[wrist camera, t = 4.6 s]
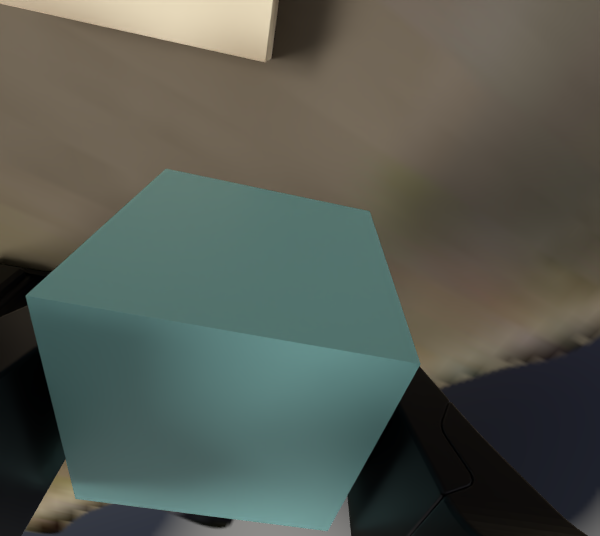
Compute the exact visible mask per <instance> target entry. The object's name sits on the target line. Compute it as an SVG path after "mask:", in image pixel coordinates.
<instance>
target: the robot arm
mask: <svg viewBox="0 0 600 536" xmlns="http://www.w3.org/2000/svg"><path fill="white" fill-rule="evenodd" d="M49 274H50V272H44V271H38V270H32V269H26V268H20V267H14V266H8V265H2V264H0V536H22V534H23V532H24V530H25V529H26V527H27V525H28V523H29V522H30V520H31V518H32V516H33V515H34V513H35V511H36V510H37V508H38V506H39V504H40V503H41V501H42V499H43V497H44V496H45V494H46V492H47V490H48V489H49V487H50V485H51V483H52V482H53V480H54V478H55V476H56V475H57V473H58V471H59V469H60V468H61V466H62V464H63V462H64V461H65V459H66V458H65V454H64V450H63V446H62V442H61V438H60V434H59V430H58V425H57V421H56V417H55V413H54V409H53V405H52V401H51V397H50V393H49V389H48V385H47V381H46V377H45V373H44V369H43V365H42V361H41V357H40V353H39V349H38V344H37V340H36V336H35V332H34V328H33V324H32V320H31V316H30V312H29V308H28V304H27V300H26V295H27V294H28V293H29V292H30V291H31V290H32V289H33V288H34V287H36V286H37V285H38V284H39V283H40V282H41V281H42V280H43V279H44V278H46V277H47V276H48V275H49ZM348 506H349V517H350V528H351V536H587V535H586V534H584V533H583V532H582V531H580V530H579V529H577V528H576V527H575V526H574V525H572V524H571V523H570V522H569V521H567V520H566V519H565V518H564V517H563V516H562V515H561V514H560V513H559V512H557V511H556V510H555V509H554V508H553V507H552V506H551V505H550V504H549V503H548V502H547V501H546V500H545V499H544V498H543V497H542V496H541V495H540V494H539V493H538V492H537V491H536V490H535V489H534V488H533V487H532V486H531V485H530V484H529V483H528V482H527V481H526V480H525V479H524V478H523V477H522V476H521V475H520V474H519V473H518V472H517V471H516V470H515V469H514V468H513V467H512V466H511V465H510V464H509V463H508V462H507V461H506V460H505V459H504V458H503V457H502V456H501V455H500V454H499V453H498V452H497V451H496V450H495V449H494V448H493V447H492V446H491V445H490V444H489V443H488V442H487V441H486V440H485V439H484V438H483V437H482V436H481V435H480V434H479V433H478V432H477V431H476V429H475V428H474V427H473V426H472V425H471V424H470V423H469V422H468V421H467V420H466V419H465V417H464V416H463V415H462V414H461V413H460V412H459V411H458V409H457V408H456V407H455V406H454V405H453V404H452V403H451V402H449V400H448V398H447V397H446V396H445V395H444V394H443V393H442V391H441V390H440V389H439V388H438V387H437V386H436V385H435V383H434V382H433V381H432V380H431V379H430V378H429V377H428V375H427V374H426V373H425V372H424V371H423V370H422V369H421V367H420V366H419V368H418V369H417V371H416V373H415V375H414V377H413V378H412V380H411V382H410V384H409V386H408V387H407V389H406V391H405V393H404V395H403V396H402V398H401V400H400V402H399V404H398V405H397V407H396V409H395V411H394V413H393V414H392V416H391V418H390V420H389V422H388V423H387V425H386V427H385V429H384V431H383V432H382V434H381V436H380V438H379V439H378V441H377V443H376V445H375V447H374V448H373V450H372V452H371V454H370V456H369V457H368V459H367V461H366V463H365V465H364V466H363V468H362V470H361V472H360V474H359V475H358V477H357V479H356V481H355V483H354V484H353V486H352V488H351V490H350V492H349V493H348Z"/></svg>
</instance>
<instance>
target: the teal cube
mask: <svg viewBox="0 0 600 536" xmlns="http://www.w3.org/2000/svg"><path fill="white" fill-rule="evenodd" d="M26 300H27V304H28V308H29V312H30V316H31V320H32V324H33V328H34V332H35V336H36V340H37V344H38V349H39V353H40V357H41V361H42V365H43V369H44V373H45V377H46V381H47V385H48V389H49V393H50V397H51V401H52V405H53V409H54V413H55V417H56V421H57V425H58V430H59V434H60V438H61V442H62V446H63V450H64V454H65V458H66V462H67V466H68V470H69V474H70V478H71V482H72V486H73V490H74V494H75V498H76V499H81V500H89V501H97V502H105V503H112V504H120V505H129V506H136V507H144V508H152V509H159V510H167V511H175V512H183V513H191V514H198V515H206V516H214V517H222V518H230V519H238V520H246V521H253V522H261V523H269V524H277V525H284V526H292V527H300V528H308V529H316V530H325V531H328V529H329V527H330V526H331V524H332V522H333V520H334V519H335V517H336V515H337V513H338V511H339V510H340V508H341V506H342V504H343V502H344V501H345V499H346V497H347V495H348V493H349V492H350V490H351V488H352V486H353V484H354V483H355V481H356V479H357V477H358V475H359V474H360V472H361V470H362V468H363V466H364V465H365V463H366V461H367V459H368V457H369V456H370V454H371V452H372V450H373V448H374V447H375V445H376V443H377V441H378V439H379V438H380V436H381V434H382V432H383V431H384V429H385V427H386V425H387V423H388V422H389V420H390V418H391V416H392V414H393V413H394V411H395V409H396V407H397V405H398V404H399V402H400V400H401V398H402V396H403V395H404V393H405V391H406V389H407V387H408V386H409V384H410V382H411V380H412V378H413V377H414V375H415V373H416V371H417V369H418V368H419V366H420V361H419V358H418V355H417V352H416V349H415V346H414V343H413V340H412V337H411V334H410V331H409V328H408V325H407V322H406V319H405V316H404V313H403V310H402V307H401V304H400V301H399V298H398V295H397V292H396V289H395V286H394V283H393V280H392V277H391V274H390V271H389V268H388V265H387V262H386V259H385V256H384V253H383V250H382V247H381V244H380V241H379V238H378V235H377V232H376V229H375V226H374V223H373V220H372V217H371V214H370V211H366V210H361V209H356V208H351V207H347V206H342V205H337V204H332V203H327V202H323V201H318V200H313V199H308V198H304V197H299V196H294V195H289V194H285V193H280V192H275V191H270V190H265V189H261V188H256V187H251V186H246V185H242V184H237V183H232V182H227V181H222V180H218V179H213V178H208V177H203V176H199V175H194V174H189V173H184V172H180V171H175V170H170V169H165V170H164V171H163V172H162V173H161V174H160V175H158V176H157V177H156V178H155V179H154V180H153V181H152V182H151V183H150V184H148V185H147V186H146V187H145V188H144V189H143V190H142V191H141V192H140V193H138V194H137V195H136V196H135V197H134V198H133V199H132V200H131V201H130V202H129V203H127V204H126V205H125V206H124V207H123V208H122V209H121V210H120V211H119V212H117V213H116V214H115V215H114V216H113V217H112V218H111V219H110V220H109V221H108V222H106V223H105V224H104V225H103V226H102V227H101V228H100V229H99V230H98V231H96V232H95V233H94V234H93V235H92V236H91V237H90V238H89V239H88V240H86V241H85V242H84V243H83V244H82V245H81V246H80V247H79V248H78V249H77V250H75V251H74V252H73V253H72V254H71V255H70V256H69V257H68V258H67V259H65V260H64V261H63V262H62V263H61V264H60V265H59V266H58V267H57V268H55V269H54V270H53V271H52V272H51V273H50V274H49V275H48V276H47V277H46V278H44V279H43V280H42V281H41V282H40V283H39V284H38V285H37V286H36V287H34V288H33V289H32V290H31V291H30V292H29V293H28V294H27V295H26Z"/></svg>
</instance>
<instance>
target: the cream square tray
mask: <svg viewBox="0 0 600 536" xmlns="http://www.w3.org/2000/svg"><path fill="white" fill-rule="evenodd" d="M0 4H5V5H9V6H14V7H18V8H23V9H27V10H32V11H36V12H41V13H45V14H50V15H54V16H59V17H63V18H68V19H72V20H77V21H81V22H86V23H90V24H95V25H99V26H104V27H108V28H113V29H117V30H122V31H126V32H131V33H135V34H140V35H144V36H149V37H153V38H158V39H162V40H167V41H172V42H176V43H181V44H185V45H190V46H194V47H199V48H203V49H208V50H212V51H217V52H221V53H226V54H230V55H235V56H239V57H244V58H248V59H253V60H257V61H262V62H267V61H268V60H270V59H271V57H272V50H273V42H274V34H275V27H276V19H277V12H278V4H279V0H0Z"/></svg>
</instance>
